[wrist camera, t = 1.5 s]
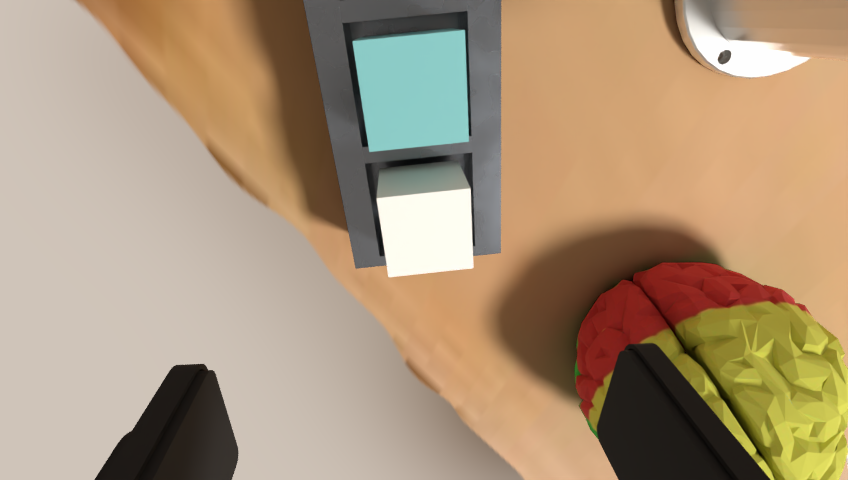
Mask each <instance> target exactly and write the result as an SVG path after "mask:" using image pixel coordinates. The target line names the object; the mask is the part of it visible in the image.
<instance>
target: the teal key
mask: <svg viewBox="0 0 848 480" xmlns="http://www.w3.org/2000/svg"><path fill="white" fill-rule="evenodd" d="M352 42H353V48H354V55H355V61H356V68H357V74H358V81H359V87H360V94H361V100H362V107H363V114H364V120H365V127H366V133H367V140H368V146H369V152H374V151H384V150H394V149H403V148H413V147H423V146H432V145H442V144H452V143H461V142H469V129H468V101H467V73H466V45H465V30H461V29H454V28H448V29H438V30H428V31H418V32H408V33H398V34H387V35H377V36H367V37H360V38H358V39H356V40H354V41H352Z"/></svg>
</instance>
